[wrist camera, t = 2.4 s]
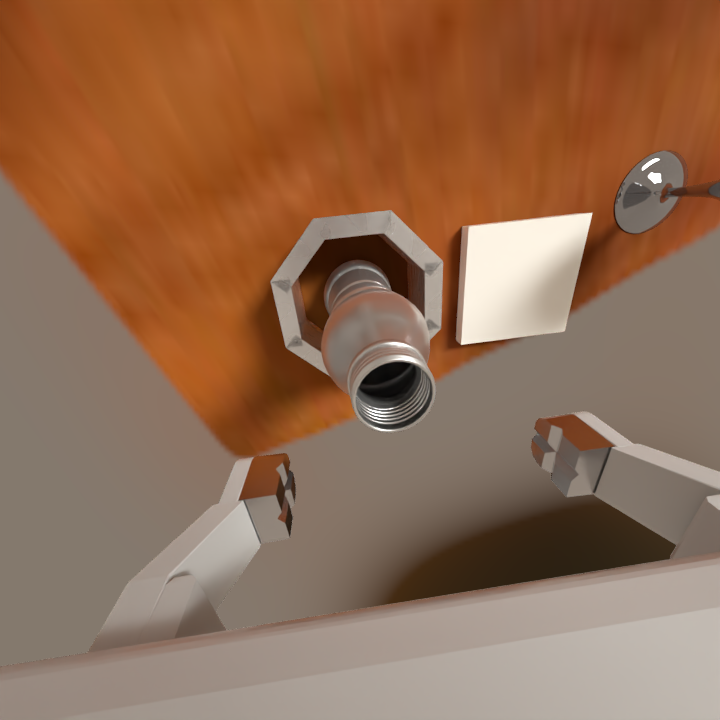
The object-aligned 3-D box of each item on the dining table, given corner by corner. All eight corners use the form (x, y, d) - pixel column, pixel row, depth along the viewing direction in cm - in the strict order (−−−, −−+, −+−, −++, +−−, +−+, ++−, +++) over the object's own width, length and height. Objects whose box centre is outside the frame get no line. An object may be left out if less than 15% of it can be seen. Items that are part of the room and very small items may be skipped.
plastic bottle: (391, 260, 29) (493, 327, 11) (380, 324, 32) (446, 460, 14) (327, 252, 28) (322, 310, 10) (321, 318, 31) (311, 456, 13)
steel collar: (272, 223, 26) (257, 224, 21) (421, 207, 27) (444, 204, 22) (300, 359, 33) (295, 387, 27) (421, 344, 33) (439, 368, 28)
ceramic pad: (462, 226, 28) (468, 226, 27) (579, 213, 29) (592, 212, 27) (455, 339, 33) (461, 344, 32) (555, 327, 34) (564, 331, 33)
